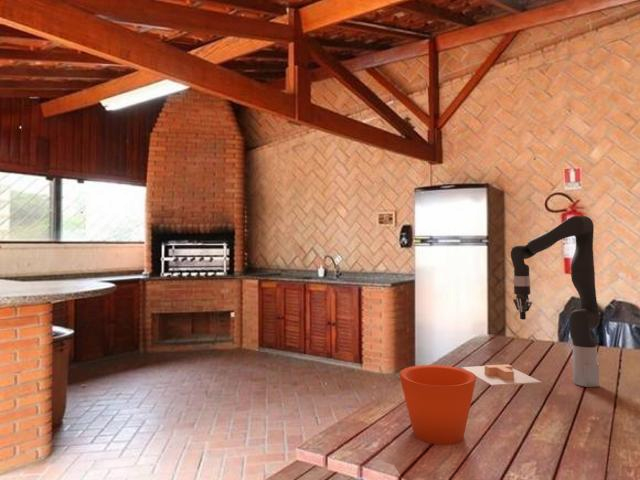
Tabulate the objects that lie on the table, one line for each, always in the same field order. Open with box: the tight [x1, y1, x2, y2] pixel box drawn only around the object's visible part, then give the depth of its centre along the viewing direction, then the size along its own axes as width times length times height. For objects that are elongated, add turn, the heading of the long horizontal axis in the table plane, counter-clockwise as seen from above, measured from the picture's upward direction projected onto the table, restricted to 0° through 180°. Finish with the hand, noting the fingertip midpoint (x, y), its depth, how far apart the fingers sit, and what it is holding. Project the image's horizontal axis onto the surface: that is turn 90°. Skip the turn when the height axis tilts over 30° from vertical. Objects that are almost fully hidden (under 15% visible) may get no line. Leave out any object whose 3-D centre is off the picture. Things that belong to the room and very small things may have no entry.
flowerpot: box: [398, 364, 477, 446], centre depth 151 cm, size 25×25×20 cm
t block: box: [484, 363, 514, 381], centre depth 213 cm, size 12×12×4 cm
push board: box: [461, 365, 542, 387], centre depth 217 cm, size 30×24×1 cm
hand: (522, 319), depth 228 cm, fingers closed
